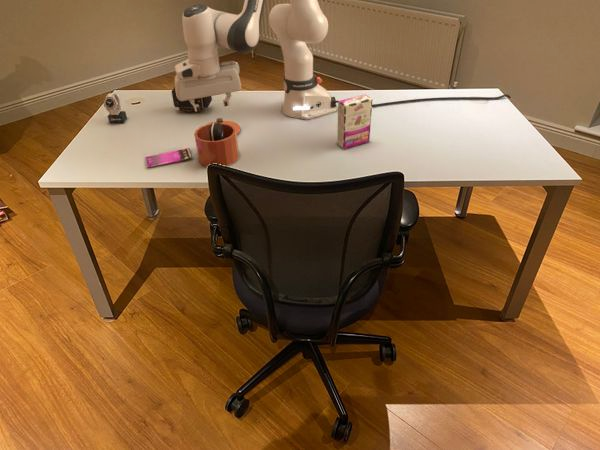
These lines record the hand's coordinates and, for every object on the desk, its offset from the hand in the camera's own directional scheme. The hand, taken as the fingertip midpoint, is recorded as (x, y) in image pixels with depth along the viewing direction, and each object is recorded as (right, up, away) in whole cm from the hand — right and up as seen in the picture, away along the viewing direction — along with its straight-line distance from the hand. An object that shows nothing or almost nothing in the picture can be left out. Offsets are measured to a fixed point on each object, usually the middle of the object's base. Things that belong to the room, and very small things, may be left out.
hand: (212, 108), depth 140 cm
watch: (-44, +4, +34) cm, 56 cm away
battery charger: (+1, -14, +11) cm, 18 cm away
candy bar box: (+47, -8, +17) cm, 51 cm away
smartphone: (-17, -15, +11) cm, 25 cm away
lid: (-2, -2, +25) cm, 25 cm away
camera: (-15, +10, +41) cm, 45 cm away
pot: (0, -14, +11) cm, 18 cm away
